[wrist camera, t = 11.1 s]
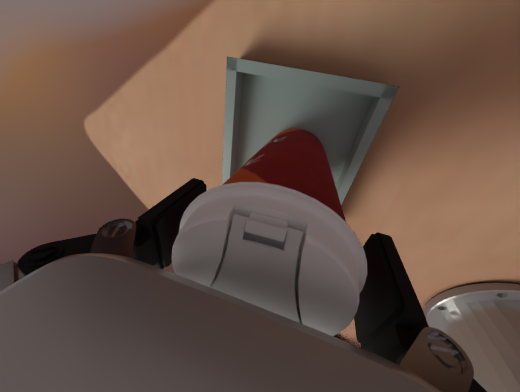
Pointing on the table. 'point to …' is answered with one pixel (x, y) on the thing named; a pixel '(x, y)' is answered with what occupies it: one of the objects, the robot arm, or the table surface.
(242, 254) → the paper cup
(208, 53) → the table surface
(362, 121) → the tray
